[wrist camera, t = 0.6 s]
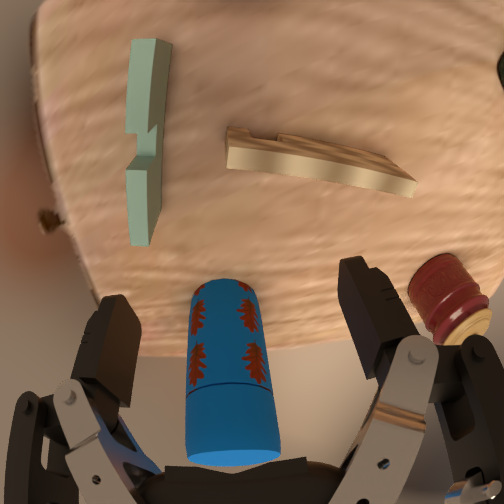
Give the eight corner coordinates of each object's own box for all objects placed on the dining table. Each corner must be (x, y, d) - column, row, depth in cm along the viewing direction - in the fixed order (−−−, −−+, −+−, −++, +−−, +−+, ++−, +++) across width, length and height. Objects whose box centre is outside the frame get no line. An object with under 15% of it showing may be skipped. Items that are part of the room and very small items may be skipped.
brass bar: (225, 143, 31) (226, 168, 24) (227, 126, 29) (229, 146, 23) (379, 169, 34) (411, 198, 28) (384, 156, 33) (418, 182, 27)
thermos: (219, 266, 41) (226, 444, 21) (271, 297, 46) (301, 451, 26) (178, 306, 45) (168, 459, 26) (228, 331, 50) (239, 468, 31)
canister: (397, 305, 52) (434, 377, 38) (421, 253, 44) (474, 330, 30) (442, 297, 53) (479, 359, 39) (466, 250, 45) (515, 314, 31)
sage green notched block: (153, 44, 23) (132, 39, 16) (172, 44, 23) (156, 38, 17) (145, 207, 34) (130, 245, 28) (161, 208, 35) (148, 246, 28)
